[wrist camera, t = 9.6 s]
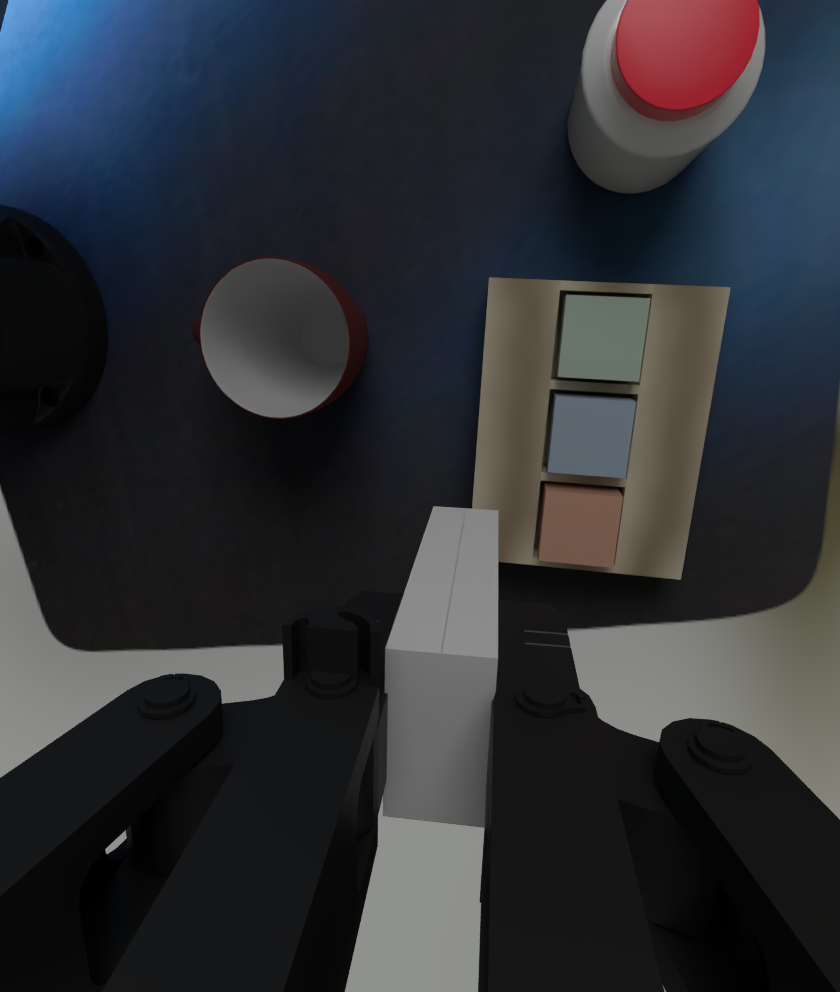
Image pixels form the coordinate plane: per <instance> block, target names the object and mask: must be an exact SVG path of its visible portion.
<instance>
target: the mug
mask: <svg viewBox="0 0 840 992" xmlns="http://www.w3.org/2000/svg"><path fill="white" fill-rule="evenodd" d="M192 332H193V337H194V339H195V340H196V341H197V342H198V343H200V347H201V352H202V356H203V359H204V362H205V365H206V368H207V370H208V372H209V374H210V376H211V378H212V379H213V381H214V382H215V384H216V385H217V387H218V388H219V389H220V390H221V392H222V393H223V394H224V395H225V396H226V397H227V398H228V399H229V400H231V401H232V402H233V403H234V404H236V405H237V406H239V407H240V408H242V409H244V410H245V411H247V412H250V413H252V414H254V415H257V416H260V417H264V418H270V419H290V418H296V417H300V416H303V415H306V414H309V413H312V412H315V411H317V410H320V409H322V408H324V407H326V406H327V405H329V404H330V403H332V402H333V401H335V400H336V399H337V398H339V397H340V396H341V395H342V394H343V393H344V392H345V391H346V390H347V388H348V387H349V386H350V385H351V383H352V382H353V380H354V379H355V377H356V376H357V374H358V372H359V371H360V369H361V367H362V365H363V363H364V361H365V358H366V355H367V350H368V343H369V336H368V328H367V324H366V321H365V318H364V315H363V313H362V311H361V309H360V308H359V306H358V305H357V303H356V302H355V301H354V299H353V298H352V297H351V296H350V294H349V293H348V292H347V291H346V290H345V289H344V287H343V286H342V285H341V284H340V283H339V282H338V281H336V280H335V279H334V278H333V277H331V276H330V275H329V274H327V273H326V272H324V271H322V270H321V269H319V268H317V267H315V266H312V265H310V264H307V263H304V262H301V261H297V260H293V259H288V258H283V257H259V258H254V259H250V260H247V261H244V262H242V263H240V264H238V265H236V266H235V267H233V268H231V269H230V270H229V271H228V272H226V273H225V274H224V275H223V276H222V277H221V278H220V279H219V280H218V281H217V282H216V284H215V285H214V286H213V288H212V289H211V291H210V293H209V295H208V297H207V299H206V301H205V304H204V307H203V310H202V314H201V317H200V318H197V319H196V320H195V321H194V323H193V327H192Z"/></svg>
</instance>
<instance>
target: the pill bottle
mask: <svg viewBox="0 0 840 992" xmlns="http://www.w3.org/2000/svg"><path fill="white" fill-rule="evenodd" d="M764 53H765V28H764V23H763V18H762V13H761V10H760V7H759V5H758V1H757V0H606V1H605V3H604V4H603V6H602V7H601V9H600V10H599V12H598V13H597V15H596V17H595V19H594V21H593V23H592V26H591V28H590V30H589V32H588V35H587V39H586V42H585V46H584V49H583V53H582V57H581V61H580V65H579V70H578V74H577V78H576V82H575V86H574V91H573V95H572V99H571V103H570V107H569V113H568V123H567V129H568V141H569V144H570V148H571V152H572V155H573V157H574V159H575V161H576V163H577V164H578V166H579V168H580V169H581V170H582V171H583V172H584V174H585V175H586V176H587V177H588V178H589V179H591V180H592V181H593V182H594V183H596V184H597V185H599V186H601V187H603V188H605V189H607V190H610V191H614V192H618V193H629V194H635V193H641V192H646V191H650V190H653V189H655V188H658V187H660V186H662V185H664V184H666V183H667V182H669V181H670V180H672V179H674V178H675V177H676V176H677V175H678V174H680V173H681V172H682V171H683V170H684V169H685V168H686V167H687V166H688V165H689V164H690V163H691V162H693V161H694V160H695V159H696V158H697V157H698V156H699V155H700V154H701V153H702V152H703V151H704V150H705V149H706V148H707V147H708V146H709V145H711V144H712V143H713V142H714V141H715V140H716V139H717V138H718V137H719V136H720V135H721V134H722V133H723V132H724V131H725V130H726V129H727V128H729V127H730V126H731V125H732V123H733V122H734V121H735V120H736V118H737V117H738V116H739V115H740V113H741V112H742V111H743V110H744V108H745V107H746V105H747V103H748V101H749V99H750V98H751V96H752V94H753V92H754V90H755V88H756V85H757V82H758V79H759V76H760V74H761V71H762V65H763V59H764Z"/></svg>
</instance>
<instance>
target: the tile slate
mask: <svg viewBox="0 0 840 992" xmlns="http://www.w3.org/2000/svg"><path fill="white" fill-rule="evenodd" d="M635 407H636V401H634V400H633V399H631V398H629V397H628V396H618V395H602V394H586V393H570V392H554V391H553V396H552V406H551V415H550V425H549V434H548V444H547V454H546V466H547V471H548V472H550V473H562V474H575V475H587V476H600V477H612V478H625V479H626V471H627V464H628V457H629V450H630V443H631V435H632V428H633V421H634V414H635Z"/></svg>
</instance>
